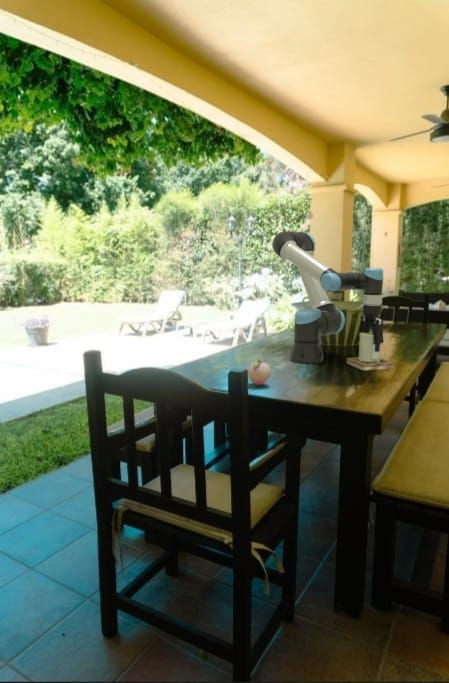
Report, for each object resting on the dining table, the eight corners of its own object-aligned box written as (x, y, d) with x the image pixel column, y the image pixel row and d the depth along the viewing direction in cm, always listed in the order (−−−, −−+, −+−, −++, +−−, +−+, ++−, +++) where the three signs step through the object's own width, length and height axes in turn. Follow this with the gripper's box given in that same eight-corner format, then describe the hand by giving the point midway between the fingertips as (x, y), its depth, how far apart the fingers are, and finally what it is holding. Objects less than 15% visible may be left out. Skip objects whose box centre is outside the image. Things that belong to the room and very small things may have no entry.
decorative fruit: (269, 389, 161) (270, 362, 159) (247, 388, 162) (247, 361, 160) (271, 383, 170) (272, 356, 168) (250, 382, 171) (250, 356, 170)
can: (369, 363, 191) (370, 335, 189) (353, 358, 199) (355, 332, 197) (385, 360, 195) (386, 333, 193) (369, 356, 203) (370, 330, 201)
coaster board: (362, 370, 189) (363, 364, 189) (346, 363, 203) (346, 357, 202) (392, 368, 192) (393, 362, 192) (374, 361, 206) (375, 356, 205)
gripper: (351, 302, 202) (349, 352, 206) (378, 307, 182) (375, 362, 186) (367, 302, 204) (364, 351, 208) (394, 306, 183) (391, 361, 187)
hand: (369, 356), depth 197 cm, fingers closed on can, 9 cm apart
